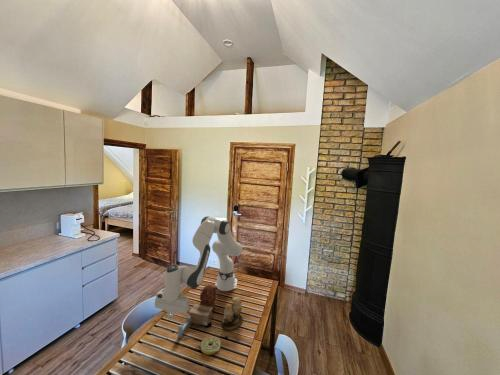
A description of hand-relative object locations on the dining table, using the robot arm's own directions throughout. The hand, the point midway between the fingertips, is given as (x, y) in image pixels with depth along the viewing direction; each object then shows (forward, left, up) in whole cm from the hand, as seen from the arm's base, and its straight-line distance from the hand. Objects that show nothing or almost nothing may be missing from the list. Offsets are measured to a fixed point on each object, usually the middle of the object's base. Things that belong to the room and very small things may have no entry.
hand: (171, 317), depth 128 cm
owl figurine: (-21, +31, -12) cm, 40 cm away
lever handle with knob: (-5, +6, -12) cm, 14 cm away
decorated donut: (+2, +25, -12) cm, 28 cm away
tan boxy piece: (-16, +11, -12) cm, 22 cm away
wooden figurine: (-28, +12, -12) cm, 32 cm away
